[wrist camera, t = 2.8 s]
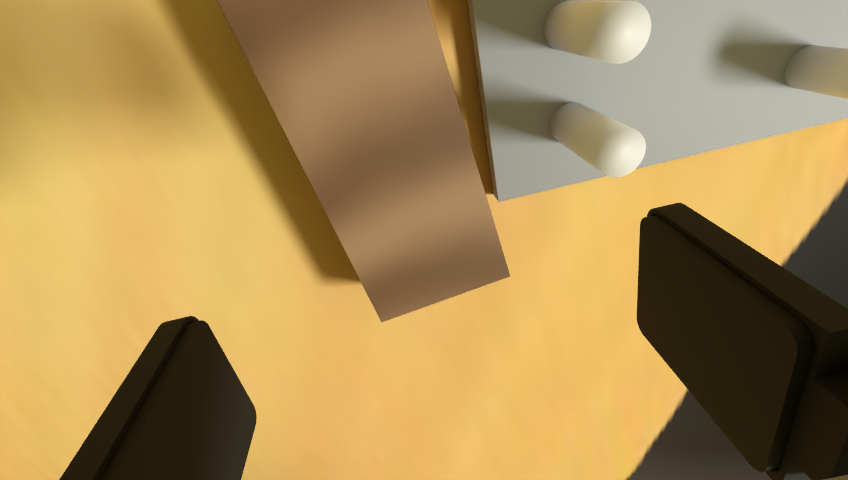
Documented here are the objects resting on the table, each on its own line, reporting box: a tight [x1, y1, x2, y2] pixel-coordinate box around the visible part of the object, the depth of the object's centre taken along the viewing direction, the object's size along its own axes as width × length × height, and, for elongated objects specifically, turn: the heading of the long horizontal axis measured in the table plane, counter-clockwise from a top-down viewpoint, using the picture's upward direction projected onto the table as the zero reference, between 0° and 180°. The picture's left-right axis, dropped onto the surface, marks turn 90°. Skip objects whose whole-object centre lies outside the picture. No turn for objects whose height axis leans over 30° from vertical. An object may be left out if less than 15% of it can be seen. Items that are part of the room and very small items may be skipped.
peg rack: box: [467, 0, 848, 202], centre depth 19 cm, size 11×20×6 cm, turn 101°
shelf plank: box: [217, 0, 510, 322], centre depth 21 cm, size 16×7×4 cm, turn 19°
